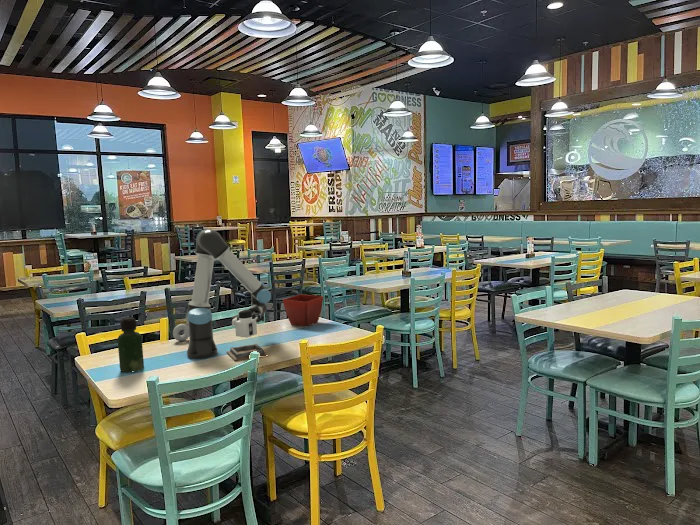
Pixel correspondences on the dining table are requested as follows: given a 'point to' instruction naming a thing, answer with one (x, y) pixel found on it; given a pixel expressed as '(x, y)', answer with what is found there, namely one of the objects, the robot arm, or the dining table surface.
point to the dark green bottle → (130, 346)
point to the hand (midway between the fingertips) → (243, 322)
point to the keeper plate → (244, 352)
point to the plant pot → (303, 309)
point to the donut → (178, 328)
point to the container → (245, 324)
